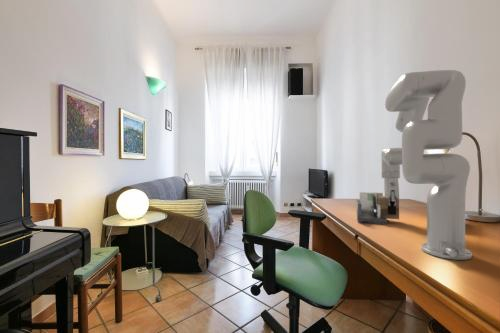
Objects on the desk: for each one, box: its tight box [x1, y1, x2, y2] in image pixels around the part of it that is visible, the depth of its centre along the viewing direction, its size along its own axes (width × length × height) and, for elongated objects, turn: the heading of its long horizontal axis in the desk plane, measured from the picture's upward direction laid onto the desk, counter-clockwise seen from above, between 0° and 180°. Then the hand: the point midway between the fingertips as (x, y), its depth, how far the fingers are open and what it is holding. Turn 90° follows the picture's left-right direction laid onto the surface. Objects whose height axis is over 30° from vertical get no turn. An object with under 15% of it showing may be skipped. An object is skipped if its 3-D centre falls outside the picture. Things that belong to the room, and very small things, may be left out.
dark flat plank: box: [374, 196, 376, 217], centre depth 122 cm, size 2×1×10 cm, turn 159°
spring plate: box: [373, 203, 380, 218], centre depth 119 cm, size 8×3×6 cm, turn 159°
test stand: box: [356, 191, 387, 225], centre depth 120 cm, size 12×12×13 cm
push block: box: [379, 195, 400, 220], centre depth 117 cm, size 4×8×10 cm, turn 69°
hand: (391, 212), depth 117 cm, fingers closed on push block, 4 cm apart
